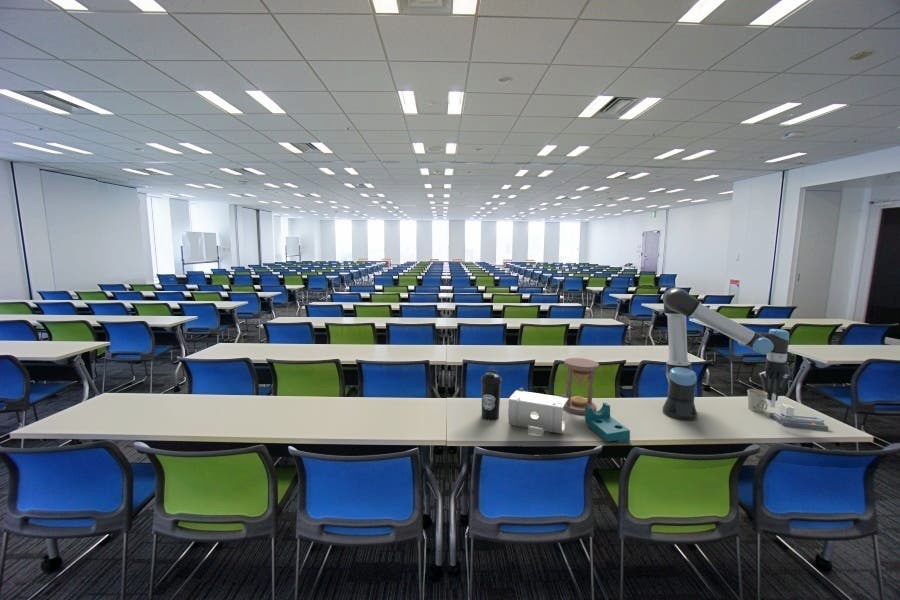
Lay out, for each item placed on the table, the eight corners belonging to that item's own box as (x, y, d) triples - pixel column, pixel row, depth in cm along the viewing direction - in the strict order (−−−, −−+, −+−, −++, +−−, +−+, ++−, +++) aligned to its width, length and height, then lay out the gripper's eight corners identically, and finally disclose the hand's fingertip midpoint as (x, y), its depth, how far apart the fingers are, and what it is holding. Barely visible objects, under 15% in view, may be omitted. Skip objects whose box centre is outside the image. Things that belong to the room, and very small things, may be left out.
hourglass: (587, 401, 208) (590, 357, 206) (602, 414, 191) (605, 367, 188) (556, 401, 207) (559, 357, 205) (568, 414, 190) (571, 367, 187)
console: (782, 425, 182) (783, 417, 181) (769, 416, 192) (770, 409, 192) (827, 430, 177) (828, 422, 177) (811, 420, 188) (812, 413, 187)
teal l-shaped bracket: (585, 426, 179) (584, 405, 177) (606, 423, 181) (605, 402, 179) (607, 444, 161) (607, 422, 160) (629, 441, 163) (629, 418, 162)
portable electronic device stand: (505, 431, 170) (506, 399, 168) (515, 412, 192) (516, 383, 190) (563, 443, 161) (565, 408, 159) (567, 421, 183) (569, 390, 181)
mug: (758, 407, 205) (760, 389, 204) (775, 416, 192) (777, 398, 191) (741, 406, 206) (743, 388, 204) (758, 415, 193) (760, 397, 192)
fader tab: (785, 419, 184) (786, 406, 183) (779, 415, 188) (780, 403, 188) (793, 419, 183) (794, 407, 182) (786, 415, 188) (788, 403, 187)
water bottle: (477, 419, 183) (478, 373, 180) (483, 411, 192) (484, 368, 190) (497, 422, 179) (499, 376, 177) (502, 414, 189) (504, 370, 186)
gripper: (765, 361, 182) (760, 408, 185) (797, 363, 179) (791, 410, 181) (756, 357, 189) (752, 402, 192) (787, 359, 186) (782, 405, 189)
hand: (771, 406), depth 187 cm, fingers closed
